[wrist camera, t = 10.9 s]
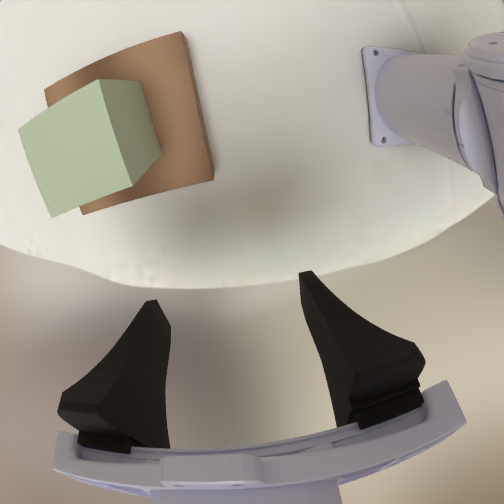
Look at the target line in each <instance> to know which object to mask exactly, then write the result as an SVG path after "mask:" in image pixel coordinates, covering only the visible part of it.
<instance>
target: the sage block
mask: <svg viewBox="0 0 504 504" xmlns="http://www.w3.org/2000/svg"><path fill="white" fill-rule="evenodd" d="M18 131H19V135H20V138H21V141H22V144H23V147H24V150H25V153H26V156H27V159H28V162H29V165H30V167H31V170H32V173H33V175H34V178H35V180H36V183H37V185H38V188H39V190H40V193H41V195H42V197H43V199H44V202H45V204H46V206H47V208H48V211H49V213H50V215H51V217H52V218H53V217H56V216H58V215H60V214H62V213H65V212H67V211H69V210H72V209H74V208H76V207H79V206H81V205H84V204H86V203H89V202H91V201H94V200H96V199H99V198H101V197H104V196H107V195H109V194H112V193H115V192H117V191H120V190H123V189H126V188H128V187H131V186H133V185H134V184H135V183H136V182H137V181H138V179H139V178H140V177H141V176H142V175H143V174H144V173H145V172H146V171H147V170H148V168H149V167H150V166H151V165H152V164H153V163H154V162H155V161H156V160H157V159H158V158H159V157H160V156H161V155H162V152H161V149H160V146H159V143H158V140H157V136H156V133H155V130H154V127H153V123H152V120H151V117H150V113H149V110H148V106H147V103H146V99H145V96H144V92H143V89H142V85H141V81H131V80H113V79H98V80H96V81H94V82H92V83H90V84H88V85H86V86H84V87H82V88H81V89H79V90H77V91H75V92H73V93H72V94H70V95H68V96H67V97H65V98H63V99H62V100H60V101H58V102H57V103H55V104H54V105H52V106H50V107H49V108H47V109H46V110H44V111H43V112H41V113H40V114H39V115H37V116H36V117H34V118H33V119H31V120H30V121H29V122H27V123H26V124H25V125H23V126H22V127H21V128H19V129H18Z"/></svg>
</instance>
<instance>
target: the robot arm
mask: <svg viewBox="0 0 504 504" xmlns="http://www.w3.org/2000/svg"><path fill="white" fill-rule="evenodd" d="M373 51H376V53H377V54H376V56H375V55H374V54H373ZM362 54H363V61H364V67H365V75H366V83H367V92H368V102H369V114H370V129H371V142H372V144H373V145H375V146H378V147H379V146H394V145H415V144H418V145H420V146H423V147H425V148H427V149H429V150H431V151H434V152H436V153H438V154H440V155H442V156H444V157H446V158H448V159H450V160H452V161H454V162H456V163H458V164H460V165H462V166H464V167H466V168H467V169H469V170H471V171H473V172H475V173H476V174H478V175H479V176H480V178H481V180H482V183H483V186H484V187H485V188H487V189H488V190H490V191H491V192H493V193H495V194H496V195H497V205H498V209H499V212H500V215H501V217H502V219H503V221H504V32H499V33H491V34H486V35H482V36H479V37H476V38H474V39H472V40H471V41H470V42H469V43H468V46H467V48H466V49H465V50H464V52H463V55H447V54H422V53H417V52H411V51H404V50H398V49H390V48H381V47H370V46H368V47H364V48H363V50H362ZM382 137H384V141H383V142H381V139H382ZM299 282H300V295H301V304H302V308H303V312H304V316H305V319H306V322H307V325H308V327H309V330H310V332H311V335H312V337H313V340H314V343H315V345H316V347H317V350H318V353H319V355H320V358H321V361H322V365H323V368H324V372H325V375H326V380H327V383H328V388H329V392H330V397H331V401H332V406H333V410H334V415H335V420H336V425H337V428H334V429H330V430H327V431H323V432H318V433H315V434H310V435H305V436H301V437H296V438H291V439H285V440H280V441H274V442H267V443H260V444H253V445H244V446H233V447H221V448H201V449H170V443H169V436H168V429H167V419H166V402H165V385H166V375H167V366H168V360H169V352H170V345H171V326H170V324H169V322H168V320H167V318H166V316H165V315H164V313H163V311H162V309H161V308H160V305H159V303H158V301H157V300H151V301H146V302H145V303H144V305H143V306H142V308H141V309H140V311H139V312H138V313H137V315H136V316H135V318H134V319H133V321H132V322H131V324H130V325H129V327H128V328H127V330H126V331H125V332H124V334H123V335H122V336H121V338H120V339H119V340H118V342H117V343H116V344H115V346H114V347H113V348H112V349H111V350H110V352H109V353H108V354H107V355H106V356H105V357H104V358H103V359H102V361H100V362H99V363H98V364H97V365H96V366H95V367H94V368H93V369H92V370H91V371H90V372H89V373H88V374H87V375H85V376H84V377H83V378H82V379H81V380H79V381H78V382H77V383H75V384H74V385H73V386H71V387H70V388H68V389H67V390H65V391H64V392H63V393H62V396H61V400H60V403H59V407H58V411H57V412H58V415H59V416H60V417H61V418H62V419H63V420H64V421H66V422H67V423H69V424H70V425H72V426H73V427H74V428H76V429H77V430H79V434H78V435H76V434H73V433H70V432H65V431H59V432H58V436H57V441H56V446H55V451H54V457H53V462H52V469H53V470H55V471H57V472H59V473H62V474H64V475H66V476H68V477H71V478H73V479H75V480H78V481H80V482H83V483H87V484H90V485H94V486H98V487H101V488H106V489H109V490H114V491H118V492H123V493H127V494H132V495H137V496H143V497H149V498H150V504H342V500H341V496H340V492H339V487H338V485H341V484H344V483H348V482H351V481H354V480H357V479H360V478H363V477H366V476H368V475H371V474H374V473H376V472H379V471H381V470H384V469H386V468H389V467H391V466H393V465H396V464H398V463H400V462H402V461H405V460H407V459H409V458H411V457H413V456H415V455H417V454H419V453H421V452H423V451H425V450H427V449H429V448H431V447H433V446H435V445H437V444H439V443H440V442H442V441H444V440H445V439H447V438H448V437H449V436H451V435H452V434H453V433H454V432H456V431H457V430H458V429H460V428H461V427H462V426H463V425H465V424H466V422H467V421H466V419H465V417H464V415H463V412H462V410H461V408H460V406H459V404H458V402H457V400H456V397H455V395H454V393H453V391H452V389H451V388H450V385H449V383H448V382H447V381H446V380H444V381H442V382H440V383H438V384H436V385H434V386H432V387H430V388H428V389H426V390H424V391H423V392H422V393H421V392H420V390H419V387H420V383H419V381H418V377H419V375H420V374H421V372H422V370H423V368H424V366H425V359H424V357H423V355H422V353H421V352H420V350H419V349H418V347H417V346H416V345H415V343H414V342H411V341H408V340H405V339H403V338H400V337H397V336H395V335H393V334H391V333H389V332H387V331H384V330H383V329H381V328H379V327H377V326H376V325H374V324H372V323H370V322H369V321H367V320H366V319H364V318H363V317H361V316H360V315H358V314H357V313H356V312H354V311H353V310H352V309H350V308H349V307H348V306H347V305H346V304H344V303H343V302H342V301H341V300H340V299H339V298H338V297H336V296H335V295H334V294H333V293H332V292H331V291H330V290H329V289H328V288H327V287H326V286H325V285H324V284H323V283H322V282H321V281H320V280H319V278H318V277H317V276H316V275H315V274H314V272H312V271H306V272H301V273H299Z"/></svg>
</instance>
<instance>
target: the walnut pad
mask: <svg viewBox="0 0 504 504" xmlns="http://www.w3.org/2000/svg"><path fill="white" fill-rule="evenodd" d="M98 79H113V80H131V81H141V85H142V89H143V92H144V96H145V99H146V103H147V106H148V110H149V113H150V117H151V120H152V123H153V127H154V130H155V133H156V136H157V140H158V143H159V146H160V149H161V152H162V155H161V156H160V157H159V158H158V159H157V160H156V161H155V162H154V163H153V164H152V165H151V166H150V167H149V168H148V170H147V171H146V172H145V173H144V174H143V175H142V176H141V177H140V178H139V179H138V181H137V182H136V183H135V184H134V185H133V186H131V187H128V188H126V189H123V190H120V191H117V192H115V193H112V194H109V195H107V196H104V197H101V198H99V199H96V200H94V201H91V202H89V203H86V204H84V205H81V206H79V207H80V210H81V212H82V214H83V215H85V214H88V213H91V212H95V211H98V210H101V209H104V208H107V207H111V206H114V205H117V204H121V203H124V202H128V201H131V200H135V199H138V198H142V197H146V196H149V195H153V194H157V193H161V192H165V191H169V190H173V189H177V188H181V187H185V186H190V185H194V184H198V183H203V182H207V181H212V180H213V178H214V165H213V161H212V156H211V152H210V147H209V143H208V138H207V134H206V129H205V125H204V120H203V116H202V111H201V106H200V102H199V97H198V92H197V87H196V83H195V78H194V73H193V68H192V63H191V58H190V53H189V48H188V43H187V38H186V37H185V36H184V34H183V33H182V32H181V31H180V32H176V33H173V34H169V35H166V36H162V37H159V38H156V39H153V40H149V41H146V42H144V43H141V44H138V45H135V46H132V47H130V48H127V49H124V50H122V51H119V52H117V53H114V54H112V55H110V56H107V57H105V58H103V59H101V60H98V61H96V62H94V63H92V64H90V65H88V66H86V67H84V68H82V69H80V70H78V71H76V72H74V73H72V74H70V75H68V76H67V77H65V78H63V79H61V80H59V81H58V82H56V83H54V84H53V85H51V86H49V87H48V88H46V89H44V91H45V96H46V101H47V106H48V108H49V107H50V106H52V105H54V104H55V103H57V102H58V101H60V100H62V99H63V98H65V97H67V96H68V95H70V94H72V93H73V92H75V91H77V90H79V89H81V88H82V87H84V86H86V85H88V84H90V83H92V82H94V81H96V80H98Z"/></svg>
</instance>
